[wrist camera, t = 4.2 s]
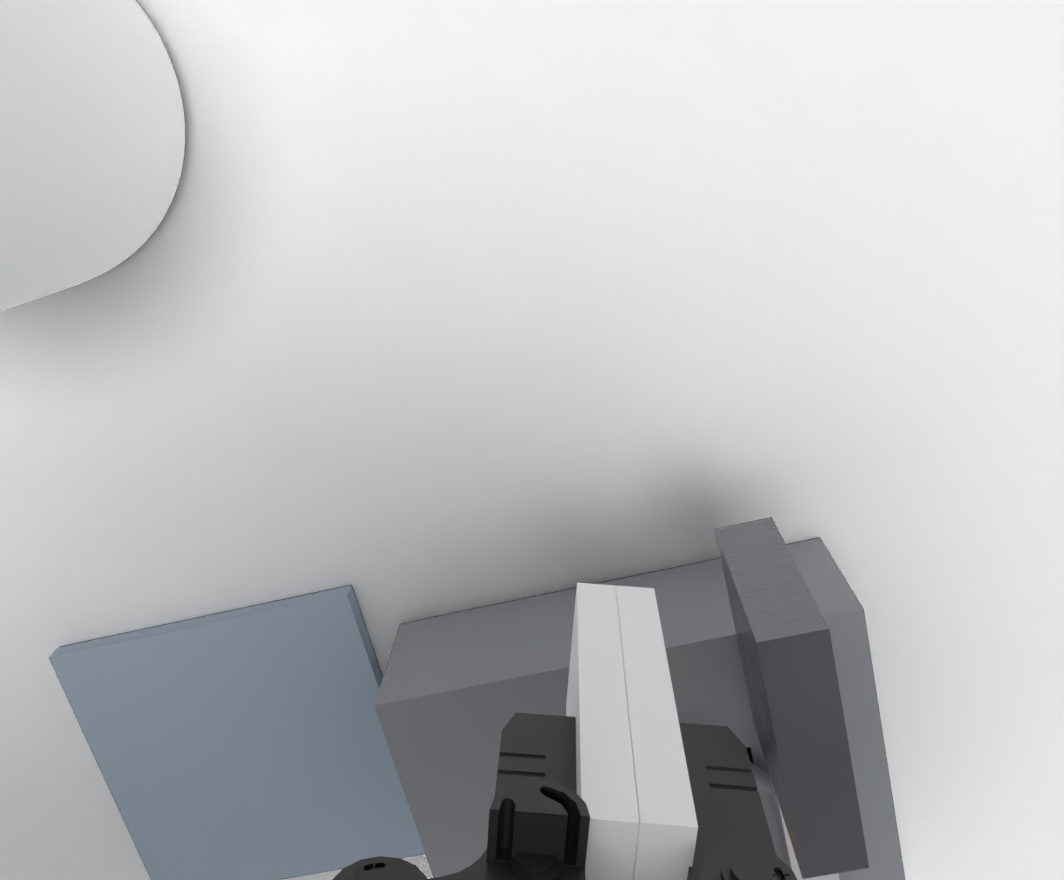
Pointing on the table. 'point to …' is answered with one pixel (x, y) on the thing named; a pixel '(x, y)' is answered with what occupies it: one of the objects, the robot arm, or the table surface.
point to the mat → (244, 740)
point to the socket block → (542, 681)
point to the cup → (81, 141)
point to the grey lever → (794, 701)
